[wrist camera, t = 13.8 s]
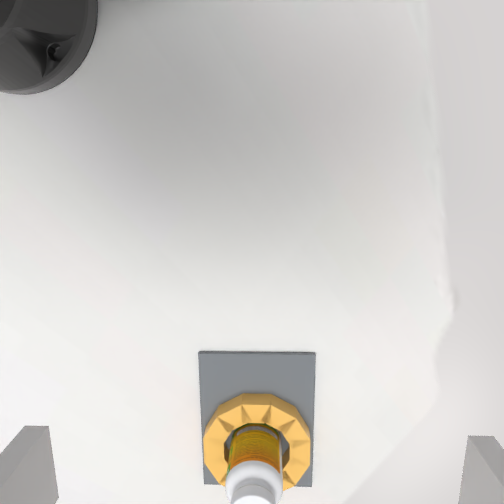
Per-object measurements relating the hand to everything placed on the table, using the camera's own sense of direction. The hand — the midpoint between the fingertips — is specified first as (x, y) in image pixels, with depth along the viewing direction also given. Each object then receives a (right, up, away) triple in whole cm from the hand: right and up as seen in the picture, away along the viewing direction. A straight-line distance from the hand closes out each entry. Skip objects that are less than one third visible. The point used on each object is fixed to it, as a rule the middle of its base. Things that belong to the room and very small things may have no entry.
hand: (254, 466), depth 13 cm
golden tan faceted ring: (0, -13, +32) cm, 35 cm away
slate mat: (0, -11, +32) cm, 34 cm away
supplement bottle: (0, -13, +32) cm, 35 cm away
